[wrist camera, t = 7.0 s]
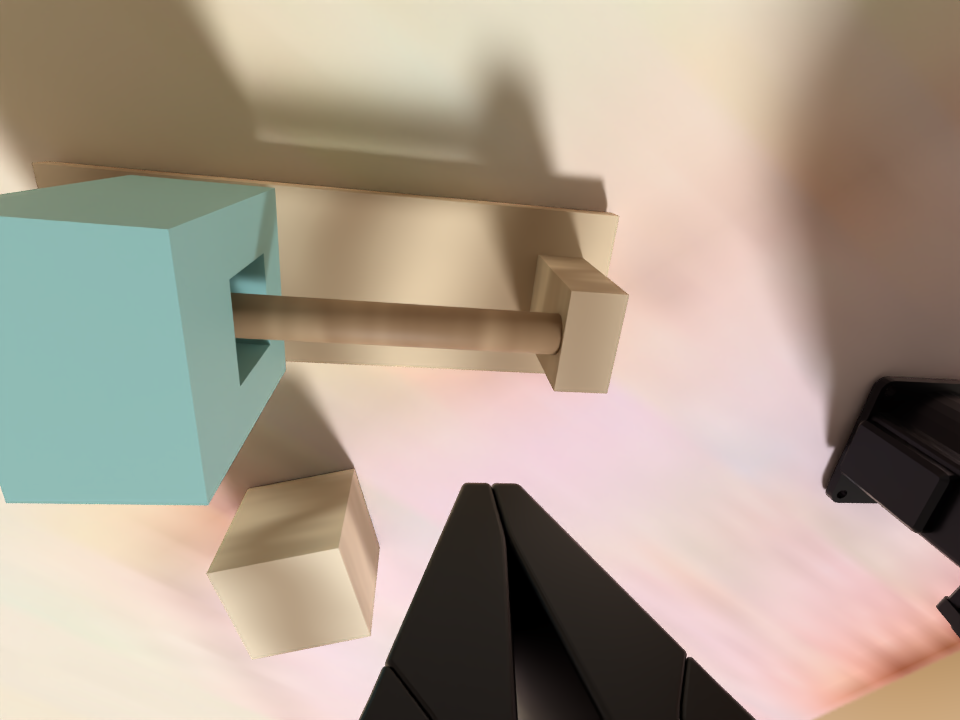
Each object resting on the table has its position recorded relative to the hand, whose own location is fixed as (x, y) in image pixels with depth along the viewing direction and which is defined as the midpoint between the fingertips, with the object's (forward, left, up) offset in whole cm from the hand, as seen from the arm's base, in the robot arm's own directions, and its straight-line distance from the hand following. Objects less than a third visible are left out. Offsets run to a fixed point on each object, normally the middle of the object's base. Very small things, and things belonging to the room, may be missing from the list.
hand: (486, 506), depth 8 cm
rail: (+3, 0, -12) cm, 12 cm away
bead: (+8, 0, -10) cm, 13 cm away
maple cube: (+5, +11, -12) cm, 17 cm away
